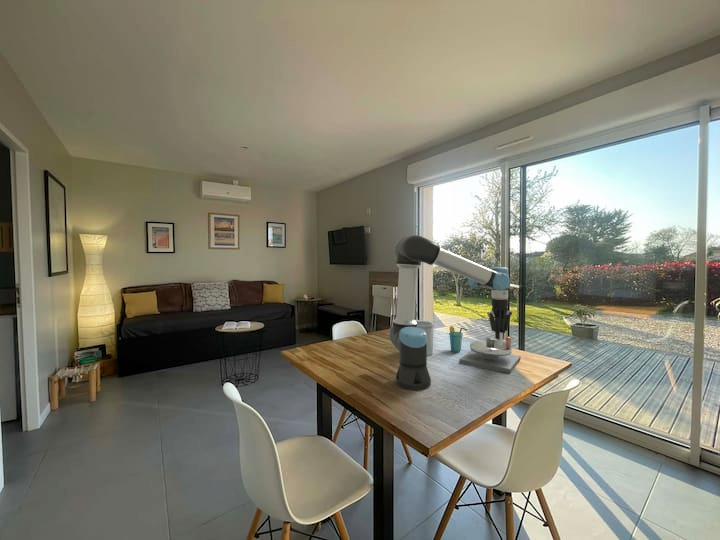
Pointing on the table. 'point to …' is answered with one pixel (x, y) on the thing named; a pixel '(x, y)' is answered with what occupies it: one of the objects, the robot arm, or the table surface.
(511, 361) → the stand
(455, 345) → the cup
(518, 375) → the table surface
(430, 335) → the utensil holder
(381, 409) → the table surface
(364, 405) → the table surface
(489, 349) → the handwheel
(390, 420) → the table surface
